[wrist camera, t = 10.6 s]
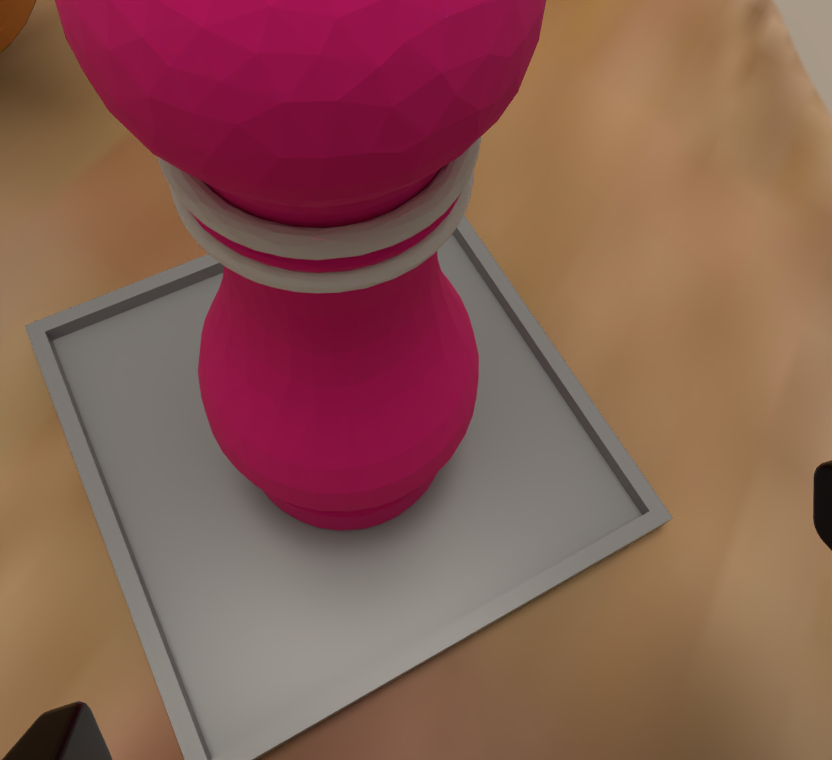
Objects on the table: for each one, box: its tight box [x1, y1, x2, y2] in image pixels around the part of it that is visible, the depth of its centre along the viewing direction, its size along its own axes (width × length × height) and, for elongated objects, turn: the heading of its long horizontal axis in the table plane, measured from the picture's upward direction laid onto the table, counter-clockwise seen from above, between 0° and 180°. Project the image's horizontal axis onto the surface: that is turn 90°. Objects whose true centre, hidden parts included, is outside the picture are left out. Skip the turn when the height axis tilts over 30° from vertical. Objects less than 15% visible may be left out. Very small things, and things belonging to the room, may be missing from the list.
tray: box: [25, 216, 673, 760], centre depth 24 cm, size 15×15×1 cm
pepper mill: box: [55, 0, 546, 530], centre depth 15 cm, size 7×7×20 cm
